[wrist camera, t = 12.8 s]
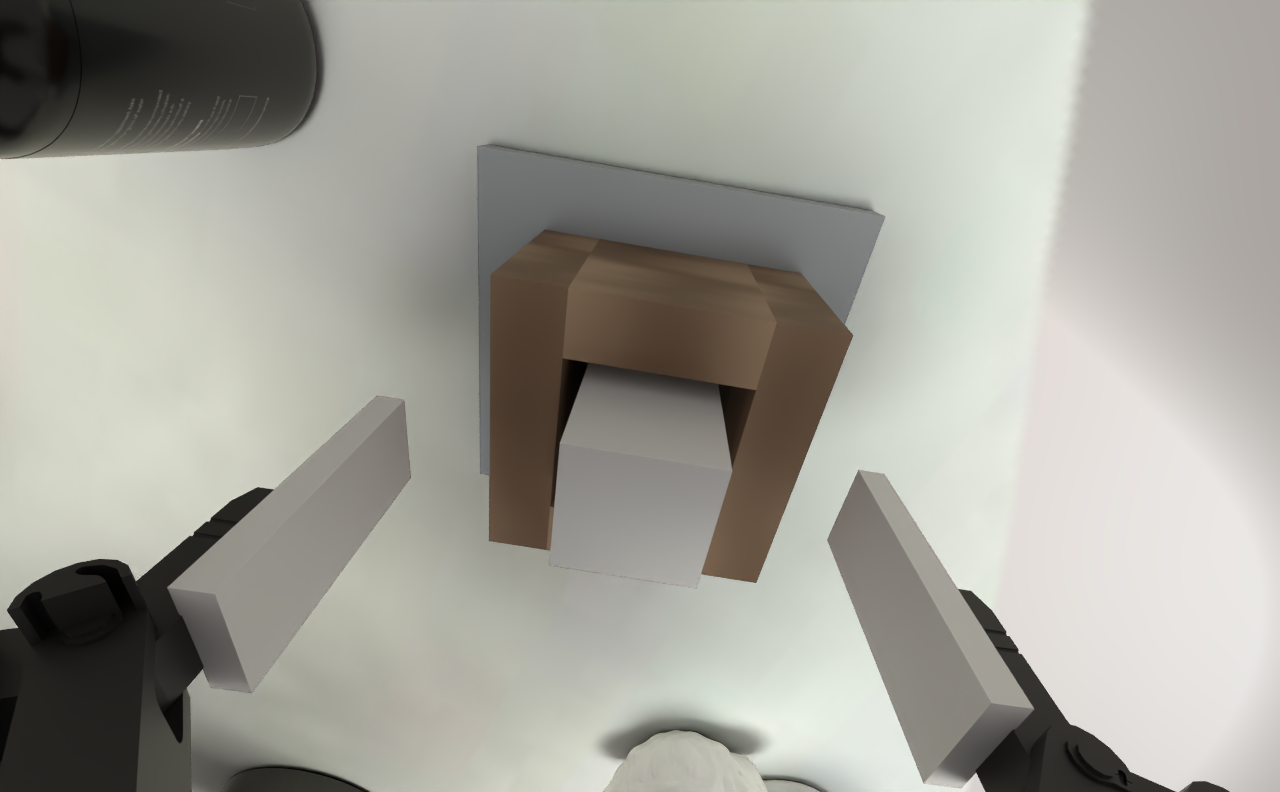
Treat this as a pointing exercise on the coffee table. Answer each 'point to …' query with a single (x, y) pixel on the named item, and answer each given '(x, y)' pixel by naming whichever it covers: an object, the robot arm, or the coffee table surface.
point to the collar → (656, 372)
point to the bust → (685, 767)
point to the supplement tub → (787, 786)
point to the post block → (641, 401)
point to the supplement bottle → (151, 75)
